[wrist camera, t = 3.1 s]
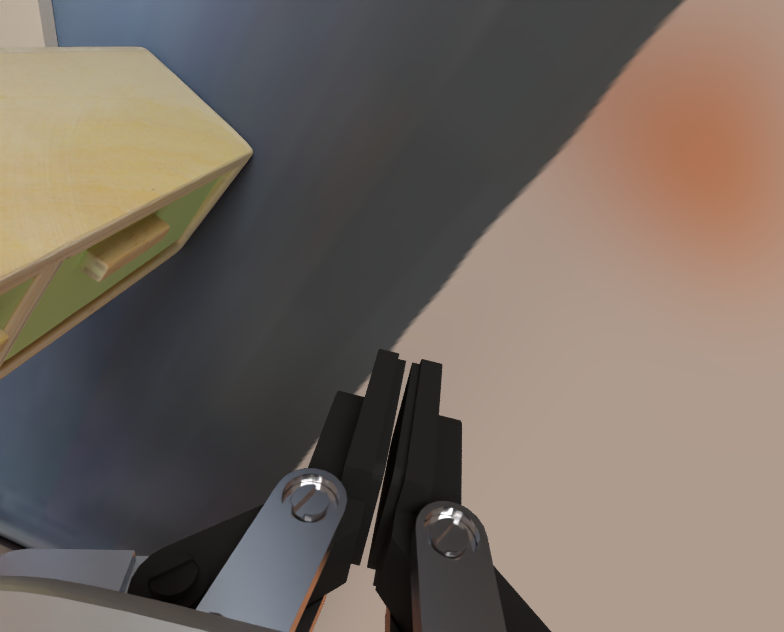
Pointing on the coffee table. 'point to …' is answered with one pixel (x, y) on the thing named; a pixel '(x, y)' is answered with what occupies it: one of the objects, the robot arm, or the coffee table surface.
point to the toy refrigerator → (96, 182)
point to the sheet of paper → (27, 24)
